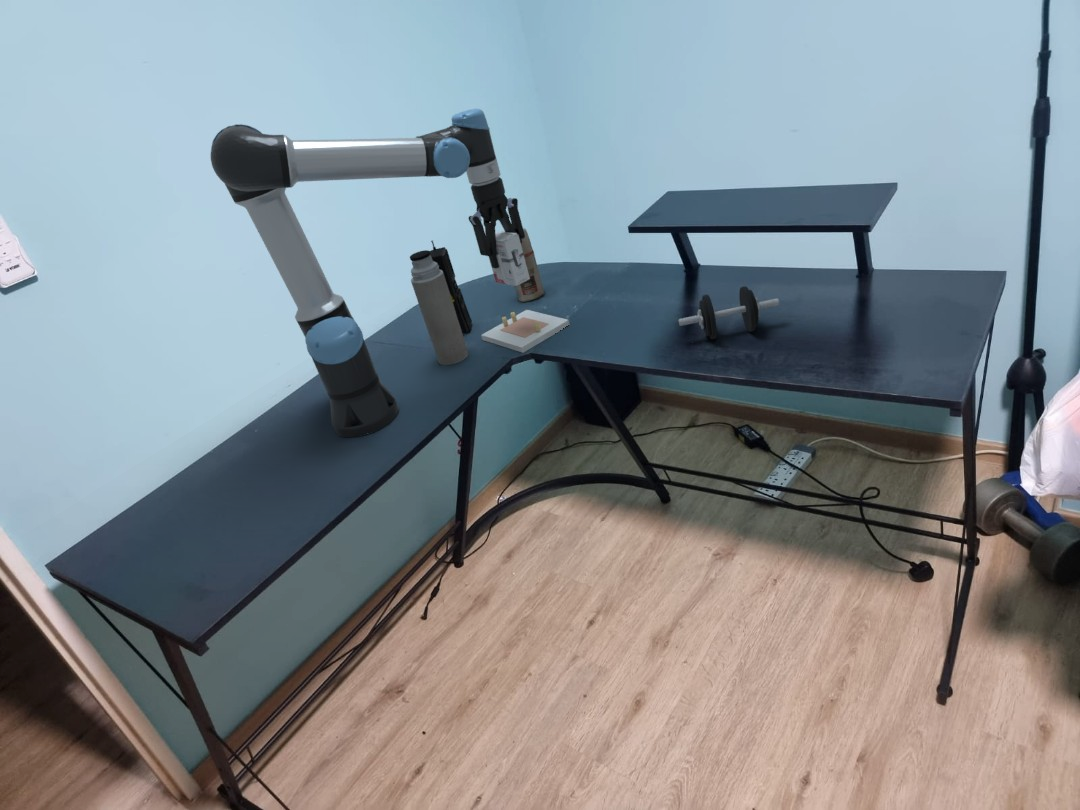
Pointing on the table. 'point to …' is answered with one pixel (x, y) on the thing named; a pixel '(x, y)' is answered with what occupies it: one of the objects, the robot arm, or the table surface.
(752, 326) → the dumbbell
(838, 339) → the table surface
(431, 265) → the thermos bottle
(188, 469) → the table surface
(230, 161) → the robot arm
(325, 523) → the table surface
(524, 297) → the spray can
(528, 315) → the pin plate
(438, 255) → the portable radio
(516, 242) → the ink box
